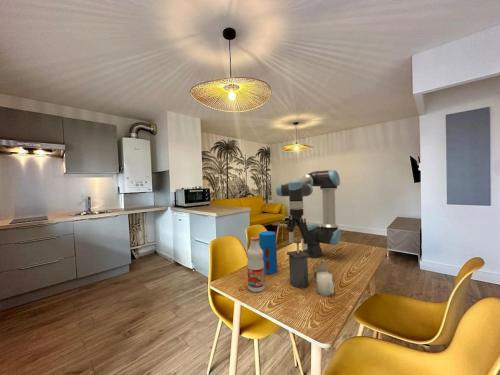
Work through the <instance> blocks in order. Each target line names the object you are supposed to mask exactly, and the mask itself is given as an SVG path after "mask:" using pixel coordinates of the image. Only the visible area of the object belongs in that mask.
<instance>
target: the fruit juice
mask: <svg viewBox="0 0 500 375" xmlns="http://www.w3.org/2000/svg"><path fill="white" fill-rule="evenodd" d="M249 241H250V245H249V247H248V250H247V251H246V257H247V261H246V267H247V270H246V271H247V288H248V290H249V291H250V292H254V293H260V292H263V291H264V290H265V288H266V280H265V279H266V276H265V275H266V274H265V273H264V261H263V250H262V249H261V248H260V245H259V236H251V237H249Z"/></svg>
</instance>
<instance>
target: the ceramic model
mask: <svg viewBox="0 0 500 375" xmlns="http://www.w3.org/2000/svg"><path fill="white" fill-rule="evenodd" d="M318 272H328V273H330V274H332V272H331V270H330V266H329V265H328V263H326V261H324V260H321V261H320V263H319V264H318V265H317V266H316V269H315V270H314V271H313V274H312V275H313V276H312V280H313V281H314V282H316V283H317V273H318ZM333 280H334V278H333V276H332V282H333Z"/></svg>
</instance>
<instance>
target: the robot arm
mask: <svg viewBox="0 0 500 375" xmlns="http://www.w3.org/2000/svg"><path fill="white" fill-rule="evenodd" d="M340 178H341V177H340V175H339V173H338V171H337V170H335V169H333V170H331V169H330V170H329V169H328V170H315V171H312V172H309V173H307V174H304V175H303V176H302V177H300V178H298V179H295V180H292V181H291V180H290V181H289V182H288V183H286V184H278V185H276V187H275V193H276V196H278V197H283V198H284V197H288V198H289V199H288V200H289V203H288V206H289V215H288V221H287V226H286V231H287V232H288V242H289V244H295V243H294V238H295V235H294V229H295V227H297V228H298V229H299V232H300V234H301V250H302V251H303V252H305V253H307V254H309V255H310V257H308V258H309V259H310V258H311V259H317V258H322V257H323V255H324V253H323V250H322V247H321V244H326V245H330V246H331V245H332V246H337V245H339V243H340V242H341V236H342V231H341V229H340V228H339V226H338V225H337V222H336V190H337V189H338V187H339V186H340V184H341V179H340ZM314 187H319V189H320V190H321V191H322V194H321V195H322V196H321V197H322V224H321V225H319V224H316V223H315V224H308V225H307V219H306V218H303V216H304V197H310V196H311V195H312V194H313V192H314V189H313V188H314Z"/></svg>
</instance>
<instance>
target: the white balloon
mask: <svg viewBox="0 0 500 375" xmlns="http://www.w3.org/2000/svg"><path fill="white" fill-rule="evenodd" d="M332 277H333V274H332V273H331V274H330V273H328V272H318V273H317V282H316V292H317V294H319V295H321V296H324V297H329V296H332V295H333V294H334V293H335V292H334V290H335V289H334V286H335V285H334V282H333V281H332Z"/></svg>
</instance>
